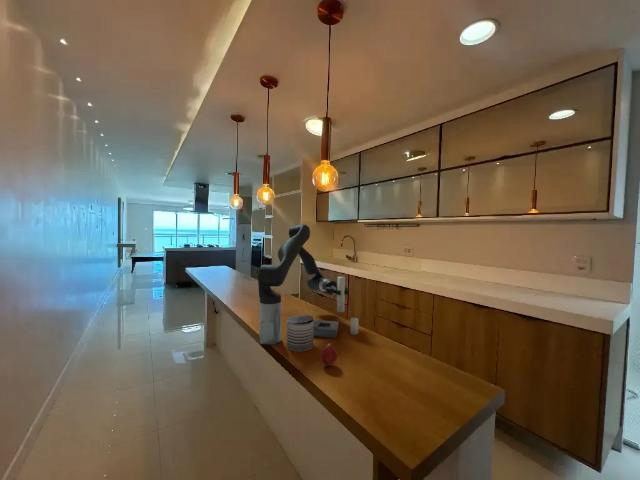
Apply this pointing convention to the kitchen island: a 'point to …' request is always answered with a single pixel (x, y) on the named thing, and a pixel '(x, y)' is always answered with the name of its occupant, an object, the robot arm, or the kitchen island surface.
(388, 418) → the kitchen island surface
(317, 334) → the hole plate
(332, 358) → the onion
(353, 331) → the short pin
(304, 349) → the can
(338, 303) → the long pin
